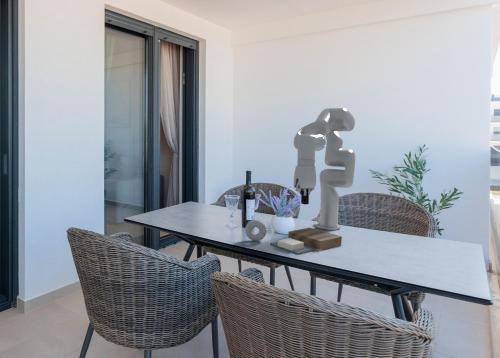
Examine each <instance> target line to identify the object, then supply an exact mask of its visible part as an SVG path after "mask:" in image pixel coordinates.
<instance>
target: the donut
mask: <svg viewBox="0 0 500 358" xmlns="http://www.w3.org/2000/svg"><path fill="white" fill-rule="evenodd" d="M254 228H257V229H258V230H259V231H258V232H257V233H254V232H253V229H254ZM244 229H245V230H244V231H245V235H246V237H247V238H248V239H249V240H250V241H253V242H259V241H262V240H263V239H264V238H265V237H266V235H267V227H266V224H265V223H264V222H263V221H261V220H259V219H252V220H250V221H248V223H246V225H245V227H244Z"/></svg>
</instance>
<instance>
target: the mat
mask: <svg viewBox="0 0 500 358" xmlns="http://www.w3.org/2000/svg"><path fill="white" fill-rule="evenodd" d="M269 244H270V245H271V246H274V247H276V248H279V249H281V250H285V251H288V252H290V253H292V254H295V255H302V254H306V253H310V252H315V251H317V250H318V249H316V248H313V247H310V246H307V245H304V248H301V249H297V250H293V251H291V250H289V249H286V248H283V247H280V246H278V241H274V242H269Z"/></svg>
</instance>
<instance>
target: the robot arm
mask: <svg viewBox="0 0 500 358" xmlns="http://www.w3.org/2000/svg"><path fill="white" fill-rule="evenodd" d="M355 124H356V120H355V118H354V116H353V114H352V113H351V111H349V109H347V108H344V107H335V108H334V107H332V108H331V107H328V108H324V109H323V110H321V112H320V114H319V115H318V116H317V118H316V120H315V121H313V122H311V123H309V124H306V125H304V126H303V127H300V129H299V130H298V131H297V132H296V134H295V136H294V138H293V147H294V149H296V150H297V161H296V162H297V163H296V164H297V165H295V167H294V168H295V170H294V173H293V188H294V189H295V192H298V193H299V195H300V204H301V205H306V206H307V205H309V203H310V195H311V193H312V191H315V187H316V186H317V170H316V165H315V163H316V152H320V151H323V150H324V149H325V152H324V153H325V154H324V164H325V166H328V167H331V168H324V169H322V170H321V171H320V173H319V184H320V203H319V204H320V205H319V216H316V218H315V219H314V221H315V222H317V224H316V228H318V229H320V230H325V231H326V230H329V231H333V230H334V231H336V230H340V229H341V225H340V224H339V202H340V201H339V200H340V197H339V192H338V191H337V189H336V188H340V189H341V188H344V189H349V188H351V187H352V186H353V184H354V176H355V169H356V168H355V167H356V153H355V151H353V150H352V149H349V148H348V149H345V148H343V143H344V141H343V138H342V137H341V135H340V134H339V133H338V132H351V131H353V130H354V128H355ZM324 136H325V137H324ZM338 168H339V169H338ZM342 168H344V169H342Z"/></svg>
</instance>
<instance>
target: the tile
mask: <svg viewBox="0 0 500 358" xmlns="http://www.w3.org/2000/svg"><path fill="white" fill-rule="evenodd" d="M277 242H278V246H280V247H283V248H286V249H289V250H291V251H293V250H297V249H301V248H304V242H301V241H298V240H294V239H291V238H288V237H287V238H284V239H279V240H277Z"/></svg>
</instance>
